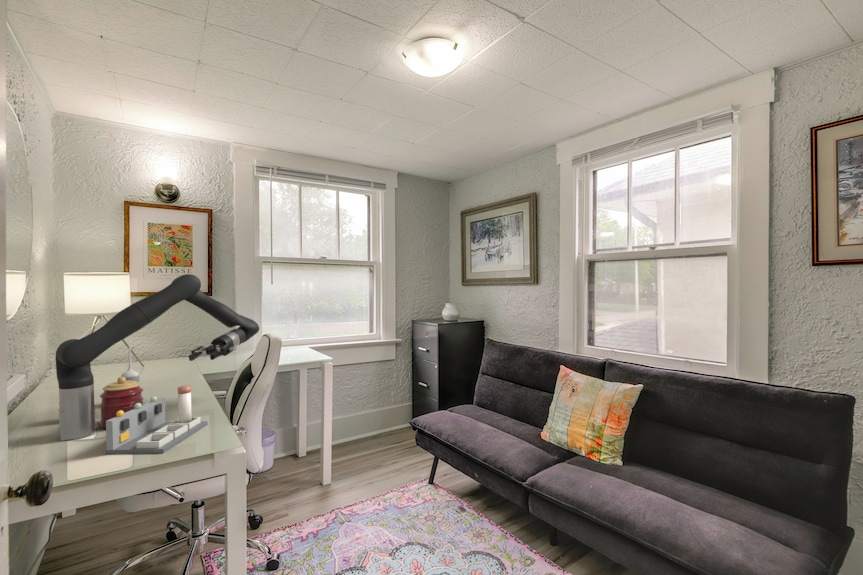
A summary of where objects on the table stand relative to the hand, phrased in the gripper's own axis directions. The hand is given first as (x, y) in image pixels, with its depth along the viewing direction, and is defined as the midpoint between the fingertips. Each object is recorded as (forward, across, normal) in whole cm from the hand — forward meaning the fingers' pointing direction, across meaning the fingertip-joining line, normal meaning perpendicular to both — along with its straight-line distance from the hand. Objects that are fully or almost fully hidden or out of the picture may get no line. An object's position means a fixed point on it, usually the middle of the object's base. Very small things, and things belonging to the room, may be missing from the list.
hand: (200, 358), depth 154 cm
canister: (+8, -30, +22) cm, 38 cm away
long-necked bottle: (-15, -49, +25) cm, 57 cm away
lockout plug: (+12, -2, +21) cm, 24 cm away
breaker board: (+20, -5, +20) cm, 29 cm away
